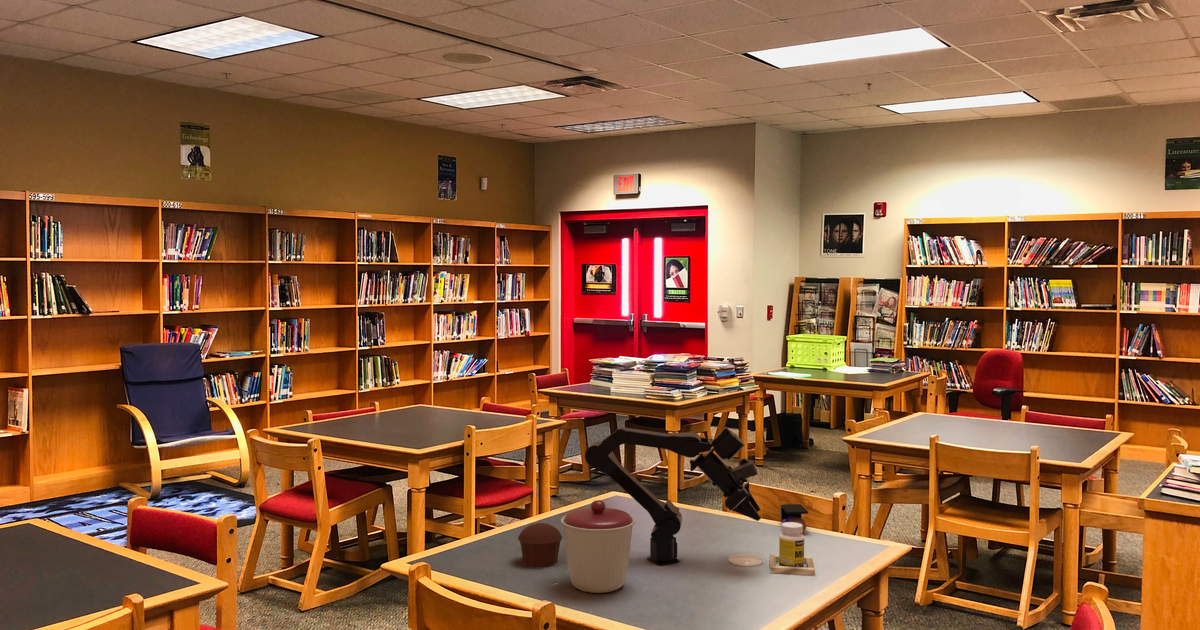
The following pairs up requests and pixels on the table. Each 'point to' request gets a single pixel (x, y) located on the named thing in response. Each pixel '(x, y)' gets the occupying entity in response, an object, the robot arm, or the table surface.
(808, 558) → the pocket frame
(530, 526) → the muffin
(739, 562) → the coaster
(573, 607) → the table surface
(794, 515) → the figurine character
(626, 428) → the robot arm
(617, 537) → the canister
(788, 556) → the supplement bottle
